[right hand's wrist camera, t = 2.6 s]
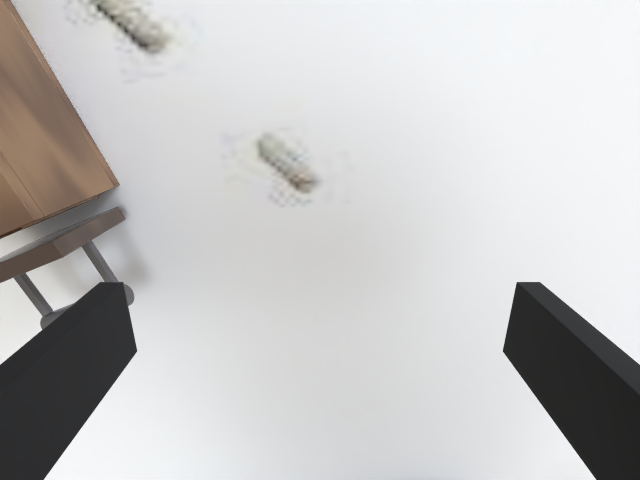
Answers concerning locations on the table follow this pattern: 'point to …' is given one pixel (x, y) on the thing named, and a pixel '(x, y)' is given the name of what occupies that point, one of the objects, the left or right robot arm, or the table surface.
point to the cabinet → (40, 135)
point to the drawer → (60, 256)
